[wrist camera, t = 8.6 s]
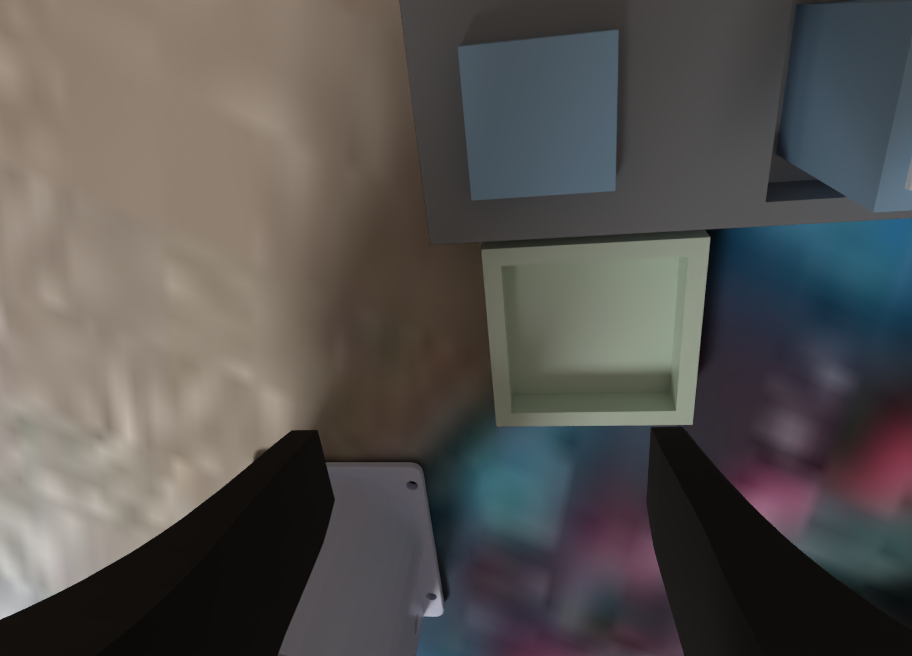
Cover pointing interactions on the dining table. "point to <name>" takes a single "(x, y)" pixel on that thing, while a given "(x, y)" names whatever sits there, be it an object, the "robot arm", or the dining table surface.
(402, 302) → the dining table surface
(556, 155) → the grey busybox board
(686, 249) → the tray
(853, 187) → the plug
